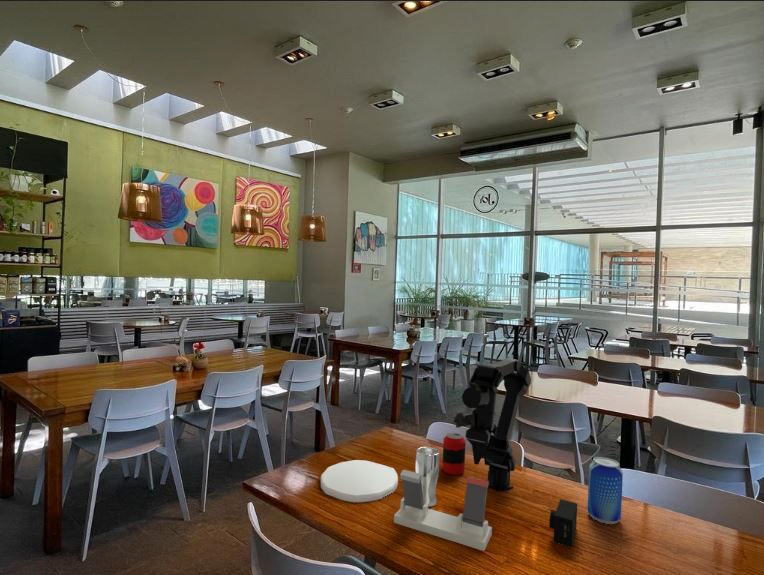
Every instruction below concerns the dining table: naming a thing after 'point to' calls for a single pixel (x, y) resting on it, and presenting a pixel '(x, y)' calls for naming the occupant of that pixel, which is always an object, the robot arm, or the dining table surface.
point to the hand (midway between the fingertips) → (479, 461)
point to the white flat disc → (359, 481)
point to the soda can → (453, 454)
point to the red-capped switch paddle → (475, 501)
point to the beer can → (605, 490)
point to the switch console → (444, 525)
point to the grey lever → (412, 489)
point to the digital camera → (564, 522)
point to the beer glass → (428, 472)
